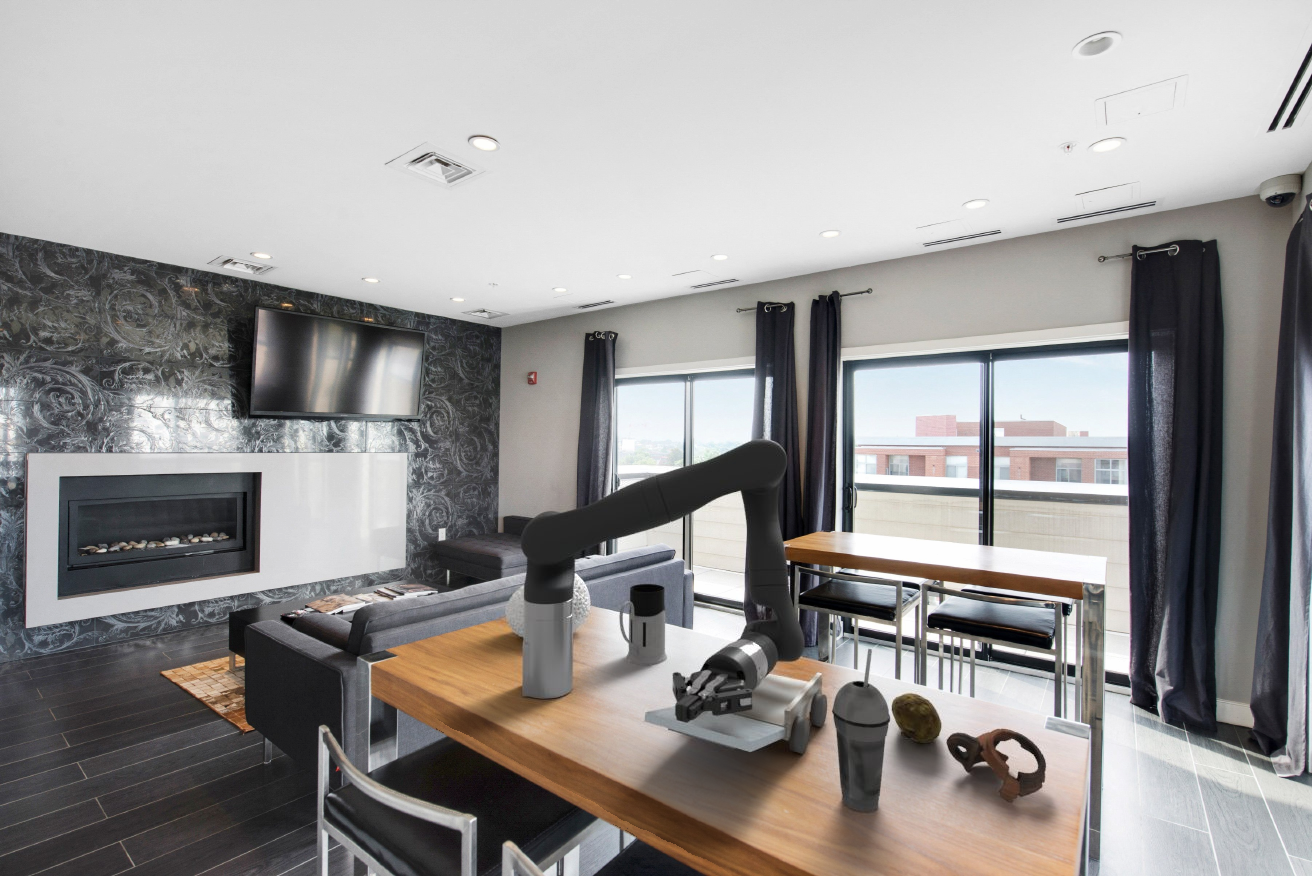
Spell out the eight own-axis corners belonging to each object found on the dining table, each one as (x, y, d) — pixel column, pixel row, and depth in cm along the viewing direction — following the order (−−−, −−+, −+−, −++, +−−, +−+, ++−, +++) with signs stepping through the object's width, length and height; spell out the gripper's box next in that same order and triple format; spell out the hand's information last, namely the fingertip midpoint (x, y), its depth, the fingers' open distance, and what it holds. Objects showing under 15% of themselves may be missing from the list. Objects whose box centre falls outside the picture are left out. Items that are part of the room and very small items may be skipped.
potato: (956, 733, 99) (956, 684, 99) (932, 765, 89) (932, 711, 89) (903, 718, 104) (904, 671, 104) (875, 746, 95) (876, 695, 95)
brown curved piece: (1023, 769, 89) (1047, 735, 85) (1032, 832, 82) (1059, 797, 77) (936, 737, 93) (955, 702, 88) (938, 795, 85) (958, 759, 81)
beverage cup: (823, 786, 84) (824, 640, 84) (874, 784, 84) (875, 639, 84) (844, 820, 76) (845, 660, 76) (900, 817, 77) (901, 658, 77)
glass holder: (674, 655, 134) (675, 586, 134) (638, 676, 122) (638, 601, 122) (641, 647, 138) (641, 581, 138) (603, 667, 126) (603, 594, 126)
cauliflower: (576, 584, 161) (563, 543, 151) (610, 630, 149) (598, 589, 139) (507, 626, 154) (488, 586, 143) (537, 678, 142) (518, 638, 131)
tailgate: (689, 703, 98) (645, 712, 86) (786, 727, 90) (751, 741, 78) (688, 714, 98) (643, 725, 86) (785, 741, 89) (750, 757, 78)
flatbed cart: (729, 691, 115) (729, 654, 115) (830, 715, 105) (830, 675, 105) (683, 730, 99) (684, 687, 99) (796, 763, 90) (797, 715, 90)
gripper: (697, 638, 97) (638, 674, 82) (777, 654, 90) (728, 696, 75) (696, 685, 97) (637, 730, 82) (776, 705, 90) (728, 757, 75)
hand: (681, 714), depth 79 cm, fingers closed
